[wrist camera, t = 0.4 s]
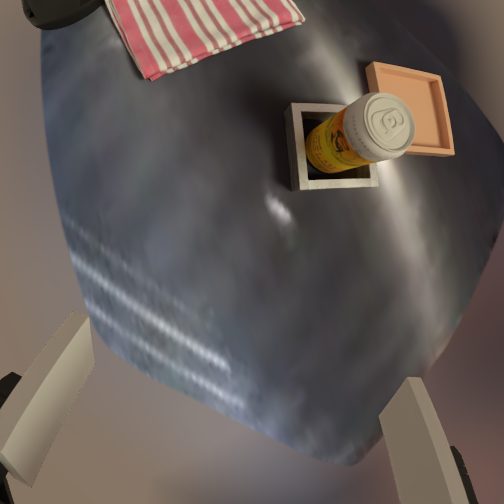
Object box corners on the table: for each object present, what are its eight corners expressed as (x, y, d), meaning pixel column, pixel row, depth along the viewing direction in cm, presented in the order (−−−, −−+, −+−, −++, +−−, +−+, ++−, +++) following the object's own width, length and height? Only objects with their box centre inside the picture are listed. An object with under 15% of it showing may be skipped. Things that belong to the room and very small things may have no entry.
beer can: (294, 139, 37) (346, 101, 22) (332, 119, 37) (396, 80, 23) (318, 182, 38) (383, 168, 23) (355, 160, 39) (429, 140, 24)
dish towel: (105, 5, 31) (99, -8, 27) (249, -46, 33) (253, -59, 29) (147, 88, 34) (142, 78, 31) (306, 26, 36) (314, 14, 32)
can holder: (283, 111, 36) (291, 103, 33) (356, 114, 38) (368, 107, 34) (291, 191, 38) (300, 189, 34) (364, 188, 39) (378, 186, 36)
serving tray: (365, 68, 37) (373, 61, 35) (431, 80, 39) (440, 76, 37) (378, 152, 39) (388, 150, 36) (444, 156, 41) (454, 154, 38)
